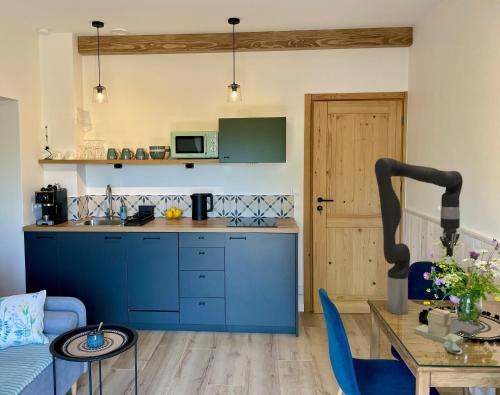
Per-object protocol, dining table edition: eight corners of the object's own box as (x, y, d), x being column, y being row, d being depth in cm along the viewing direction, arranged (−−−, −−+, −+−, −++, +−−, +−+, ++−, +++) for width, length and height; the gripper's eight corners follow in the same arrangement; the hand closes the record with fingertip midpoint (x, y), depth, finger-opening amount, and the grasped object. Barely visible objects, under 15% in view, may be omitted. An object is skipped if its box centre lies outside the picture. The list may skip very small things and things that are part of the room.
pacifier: (460, 348, 156) (443, 346, 158) (460, 332, 156) (444, 331, 157) (464, 357, 149) (447, 354, 151) (465, 340, 149) (447, 338, 150)
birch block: (435, 329, 169) (436, 308, 169) (450, 333, 165) (450, 312, 164) (428, 332, 166) (428, 311, 165) (442, 337, 161) (442, 315, 160)
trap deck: (441, 320, 184) (441, 315, 183) (480, 331, 170) (480, 327, 170) (414, 333, 170) (414, 328, 170) (454, 347, 157) (454, 342, 157)
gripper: (449, 214, 181) (448, 252, 182) (433, 217, 173) (433, 257, 175) (466, 216, 175) (465, 255, 176) (451, 219, 167) (450, 260, 169)
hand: (449, 256), depth 176 cm, fingers closed
